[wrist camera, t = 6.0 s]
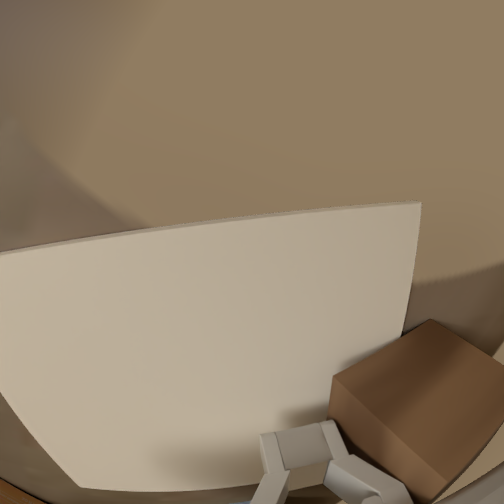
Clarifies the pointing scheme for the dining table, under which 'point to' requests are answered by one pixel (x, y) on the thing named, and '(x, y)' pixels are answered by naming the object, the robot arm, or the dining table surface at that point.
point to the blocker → (420, 408)
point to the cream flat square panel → (197, 338)
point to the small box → (15, 495)
